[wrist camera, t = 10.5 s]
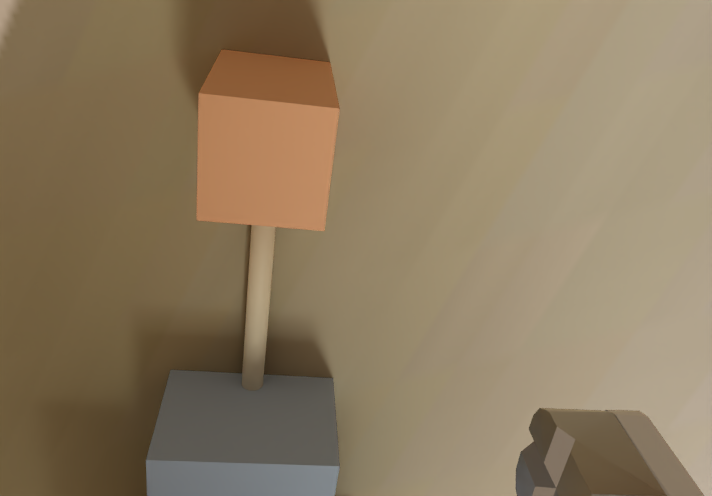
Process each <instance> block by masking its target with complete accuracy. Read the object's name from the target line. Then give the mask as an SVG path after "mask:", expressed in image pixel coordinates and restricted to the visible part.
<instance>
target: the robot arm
mask: <svg viewBox="0 0 712 496" xmlns="http://www.w3.org/2000/svg"><path fill="white" fill-rule="evenodd" d="M529 430H530V433H531V435H532V437H533V440H534V442H533V443H531V444H530V445H529V446H528V447H526V448H525V449H524V450H523V451H521V454H520V457H519V461H518V464H517V468H516V493H517V496H704V495H703V493H702V492H701V490H700V489H699V488H698V486H697V485H696V483H695V482H694V481H693V479H692V478H691V476H690V475H689V474H688V472H687V471H686V469H685V468H684V467H683V465H682V464H681V462H680V461H679V460H678V458H677V457H676V455H675V454H674V453H673V451H672V450H671V448H670V447H669V446H668V444H667V443H666V441H665V440H664V439H663V437H662V436H661V434H660V433H659V432H658V430H657V429H656V427H655V426H654V425H653V423H652V422H651V420H650V419H649V418H648V417H647V416H646V415H645V414H643V413H642V412H640V411H628V410H605V411H601V410H579V409H554V408H539V409H538V411H537V412H536V413H535V414H534V415H533V418H532V421H531V424H530V427H529Z"/></svg>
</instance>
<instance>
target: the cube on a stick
mask: <svg viewBox="0 0 712 496" xmlns="http://www.w3.org/2000/svg"><path fill="white" fill-rule="evenodd" d="M339 110H340V108H339V103H338V98H337V93H336V88H335V83H334V79H333V74H332V69H331V64H330V62H324V61H316V60H308V59H299V58H291V57H282V56H274V55H266V54H257V53H249V52H241V51H232V50H224V49H222V50H221V52H220V53H219V55H218V57H217V59H216V61H215V63H214V65H213V67H212V69H211V71H210V72H209V74H208V76H207V78H206V80H205V82H204V84H203V86H202V88H201V90H200V92H199V101H198V163H197V221H210V222H222V223H234V224H246V225H252V226H251V242H250V258H249V274H248V290H247V306H246V322H245V338H244V354H243V370H242V373H225V372H205V371H186V370H170V374H169V377H168V381H167V385H166V388H165V392H164V396H163V399H162V403H161V407H160V410H159V414H158V418H157V421H156V425H155V429H154V432H153V436H152V440H151V443H150V447H149V451H148V454H147V458H146V478H147V496H335V491H336V485H337V479H338V474H339V468H340V463H339V450H338V436H337V423H336V410H335V396H334V383H333V378H322V377H303V376H283V375H264V366H265V354H266V342H267V330H268V318H269V306H270V294H271V282H272V270H273V258H274V246H275V234H276V227H282V228H294V229H306V230H318V231H325V223H326V215H327V207H328V199H329V190H330V182H331V174H332V166H333V158H334V150H335V142H336V134H337V126H338V118H339Z"/></svg>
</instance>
